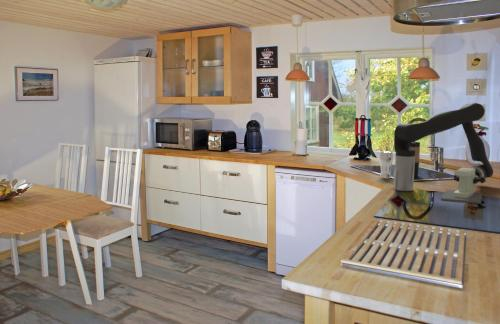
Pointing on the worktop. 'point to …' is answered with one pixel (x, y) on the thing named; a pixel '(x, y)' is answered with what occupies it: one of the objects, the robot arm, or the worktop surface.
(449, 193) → the mat
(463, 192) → the tall sage green block
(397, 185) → the robot arm
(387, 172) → the beer glass
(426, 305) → the worktop surface
